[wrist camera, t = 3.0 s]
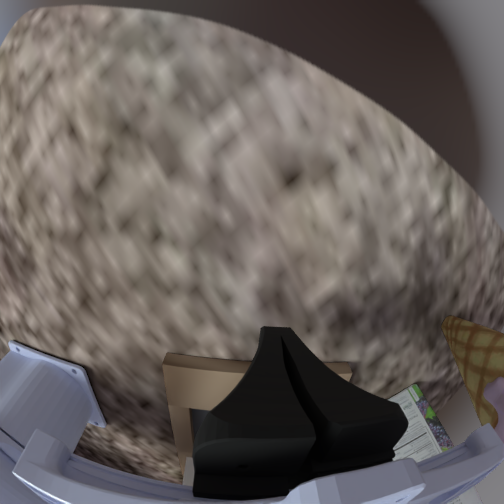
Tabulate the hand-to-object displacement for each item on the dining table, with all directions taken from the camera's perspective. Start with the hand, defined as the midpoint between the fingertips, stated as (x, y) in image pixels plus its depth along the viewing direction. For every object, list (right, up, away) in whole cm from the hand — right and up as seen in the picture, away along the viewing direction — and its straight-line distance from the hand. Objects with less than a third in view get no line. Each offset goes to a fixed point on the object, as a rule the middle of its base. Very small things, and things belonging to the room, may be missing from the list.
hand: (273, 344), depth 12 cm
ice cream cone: (+14, -1, +4) cm, 14 cm away
